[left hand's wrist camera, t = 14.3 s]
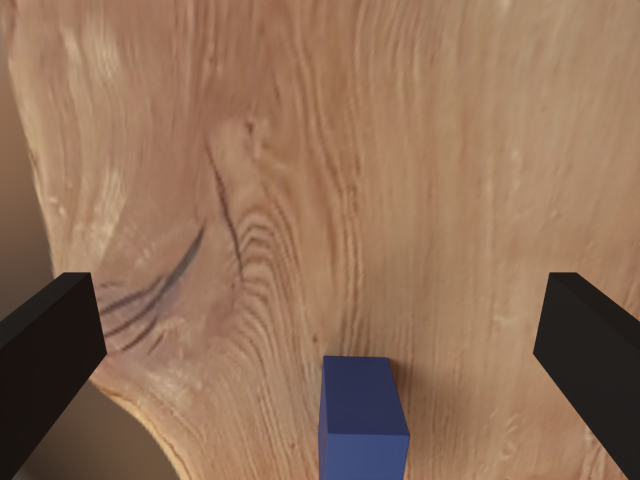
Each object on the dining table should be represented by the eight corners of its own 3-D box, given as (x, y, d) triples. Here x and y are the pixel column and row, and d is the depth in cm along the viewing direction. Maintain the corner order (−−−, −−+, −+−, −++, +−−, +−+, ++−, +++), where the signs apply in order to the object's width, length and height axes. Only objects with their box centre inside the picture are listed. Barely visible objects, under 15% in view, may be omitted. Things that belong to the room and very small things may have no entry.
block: (318, 435, 39) (320, 527, 31) (323, 355, 37) (327, 433, 29) (378, 437, 40) (395, 528, 32) (388, 357, 37) (410, 435, 29)
